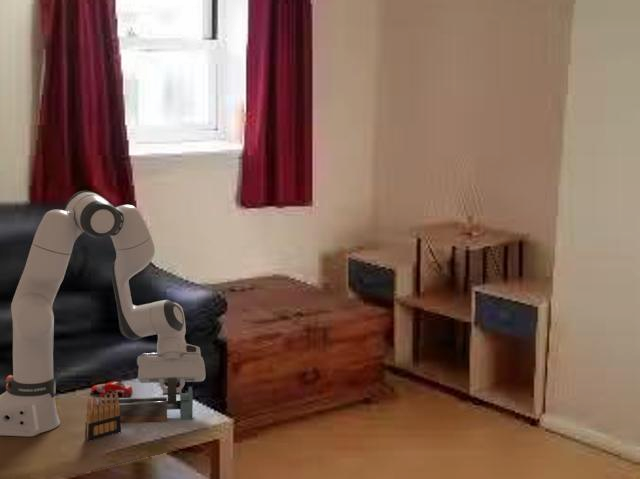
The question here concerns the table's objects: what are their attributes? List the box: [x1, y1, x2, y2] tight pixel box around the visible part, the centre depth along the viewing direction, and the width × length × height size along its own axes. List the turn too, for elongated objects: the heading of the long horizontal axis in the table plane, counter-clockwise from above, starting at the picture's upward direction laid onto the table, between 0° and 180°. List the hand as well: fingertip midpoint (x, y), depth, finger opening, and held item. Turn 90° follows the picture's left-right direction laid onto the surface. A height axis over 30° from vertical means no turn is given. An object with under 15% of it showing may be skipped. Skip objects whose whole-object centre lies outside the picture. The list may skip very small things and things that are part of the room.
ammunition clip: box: [84, 392, 122, 442], centre depth 277 cm, size 11×2×12 cm, turn 134°
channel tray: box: [92, 396, 168, 424], centre depth 292 cm, size 22×9×5 cm, turn 100°
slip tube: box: [133, 378, 181, 411], centre depth 293 cm, size 16×3×9 cm, turn 100°
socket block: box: [179, 386, 194, 420], centre depth 295 cm, size 4×6×8 cm, turn 10°
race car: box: [91, 381, 133, 398], centre depth 312 cm, size 13×5×4 cm, turn 80°
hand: (172, 394), depth 293 cm, fingers closed on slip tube, 2 cm apart
